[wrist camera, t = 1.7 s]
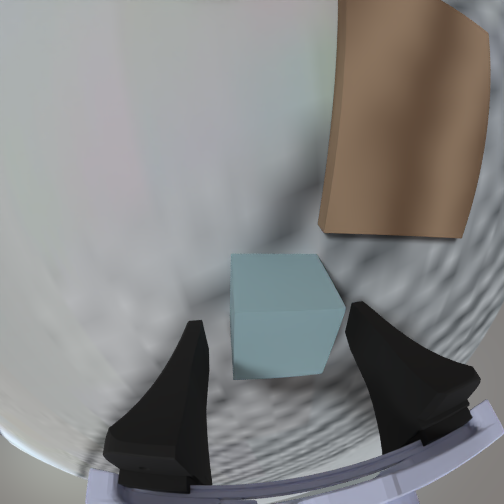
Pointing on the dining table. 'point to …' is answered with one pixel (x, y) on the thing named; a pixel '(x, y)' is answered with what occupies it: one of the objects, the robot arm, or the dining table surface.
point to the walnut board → (405, 119)
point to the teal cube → (281, 315)
